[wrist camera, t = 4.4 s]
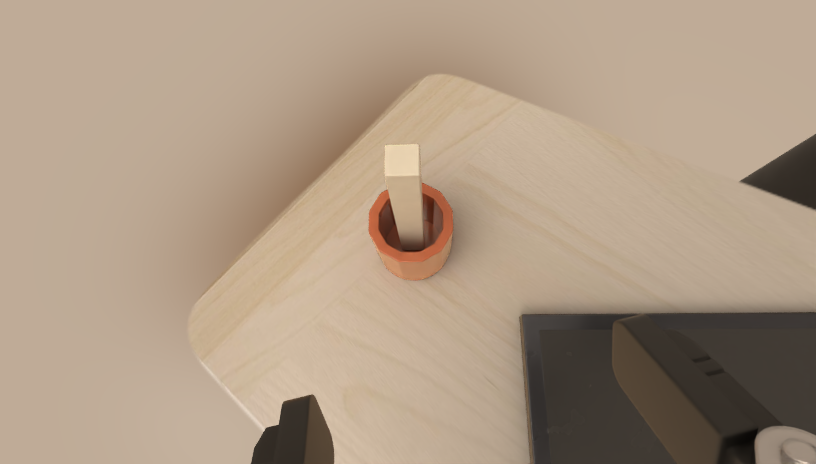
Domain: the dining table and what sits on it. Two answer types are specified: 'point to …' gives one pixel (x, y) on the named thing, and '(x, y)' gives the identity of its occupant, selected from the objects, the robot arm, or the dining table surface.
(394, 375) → the dining table surface
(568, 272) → the dining table surface
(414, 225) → the stylus
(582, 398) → the tablet
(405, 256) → the pen pot
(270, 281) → the dining table surface
